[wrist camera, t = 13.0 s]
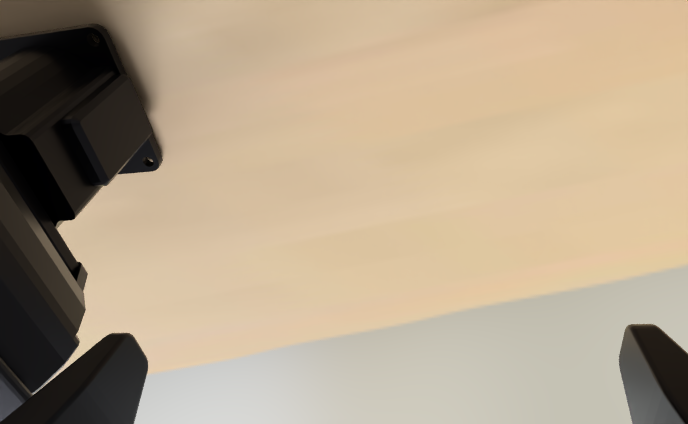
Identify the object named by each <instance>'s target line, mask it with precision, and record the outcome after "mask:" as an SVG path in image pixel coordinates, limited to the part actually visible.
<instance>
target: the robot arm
mask: <svg viewBox="0 0 688 424" xmlns="http://www.w3.org/2000/svg"><path fill="white" fill-rule="evenodd" d="M92 34H94V35H96V36H97V37H98V38H99V41H100V43H97V42H96V41H95V40H94V39H93V38H92ZM147 157H149V158H151V159H152V160H153V162H151V161H149V160H148V159H147ZM162 161H163V159H162V156H161V153H160V151H159V149H158V146H157V144H156V142H155V139H154V137H153V135H152V128H151V126H150V124H149V121H148V119H147V117H146V114H145V112H144V109H143V107H142V105H141V102H140V100H139V98H138V95H137V93H136V91H135V88H134V86H133V84H132V81H131V79H130V78H129V77H128V76H127V74H126V72H125V70H124V67H123V65H122V63H121V60H120V58H119V56H118V53H117V51H116V49H115V46H114V44H113V42H112V39H111V37H110V35H109V33H108V32H107V30H106V29H105V28H104V27H102V26H100V25H98V24H89V25H82V26H76V27H69V28H62V29H56V30H49V31H42V32H36V33H29V34H22V35H16V36H9V37H3V38H0V424H134V421H135V417H136V413H137V409H138V406H139V401H140V398H141V394H142V390H143V387H144V383H145V379H146V375H147V371H148V361H147V358H146V356H145V354H144V352H143V351H142V349H141V348H140V346H139V344H138V343H137V341H136V339H135V338H134V336H133V335H131V334H130V333H112V334H109V335H107V336H106V337H104V338H103V339H102V340H101V341H99V342H98V343H97V344H96V345H94V346H93V347H92V348H91V349H90V350H88V351H87V352H86V353H85V354H83V355H82V356H81V357H80V358H78V359H77V360H76V361H75V362H74V363H72V364H71V365H70V366H69V367H67V368H66V369H65V370H64V371H62V372H61V373H60V374H59V375H58V376H56V377H55V378H54V379H53V380H51V381H50V382H49V383H48V384H46V383H47V382H48V381H49V380H50V379H51V378H52V377H53V376H54V375H55V374H56V373H57V372H58V371H59V370H60V369H61V368H62V367H63V366H64V365H65V364H66V362H67V361H68V360H69V358H70V357H71V356H72V354H73V353H74V352H75V350H76V348H77V347H78V345H79V338H78V337H77V336H76V334H77V332H78V330H79V327H80V324H81V321H82V319H83V316H84V313H85V310H86V309H85V300H84V293H83V290H84V286H85V283H86V279H87V275H88V273H87V272H86V270H85V268H84V267H83V265H82V264H81V263H80V262H77V261H76V259H75V258H74V256H73V255H72V253H71V251H70V250H69V248H68V247H67V245H66V243H65V242H64V240H63V239H62V237H61V235H60V234H59V232H58V231H57V228H58V227H59V226H60V224H61V223H62V222H63V221H66V220H73V219H75V218H76V216H77V215H78V214H79V213H80V212H81V211H82V210H83V208H84V207H85V206H86V205H87V204H88V203H89V202H90V200H91V199H92V198H93V197H94V196H95V195H96V193H97V192H98V191H99V190H100V189H101V188H102V187H103V186H107V185H108V184H109V183H110V182H111V181H112V180H113V179H114V177H115V176H116V175H117V174H126V173H138V172H150V171H155V170H157V169H158V168H159V166H160V165H161V164H162ZM619 366H620V372H621V375H622V380H623V384H624V389H625V393H626V397H627V402H628V406H629V410H630V415H631V419H632V423H633V424H688V353H687V352H686V351H684V350H683V349H682V348H681V347H680V346H679V345H678V344H677V343H676V342H675V341H673V340H672V339H671V338H670V337H669V336H668V335H667V334H665V332H664V331H662V330H661V329H660V328H659V327H657V326H656V325H653V324H631V325H628V326H627V327H626V329H625V332H624V337H623V341H622V346H621V351H620V355H619ZM45 384H46V385H45ZM44 385H45V386H44ZM43 386H44V387H43ZM41 387H43V388H42V389H40V388H41ZM39 389H40V390H39ZM38 390H39V391H38ZM37 391H38V392H37ZM35 392H37V393H35ZM34 393H35V394H34ZM33 394H34V395H33Z"/></svg>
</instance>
